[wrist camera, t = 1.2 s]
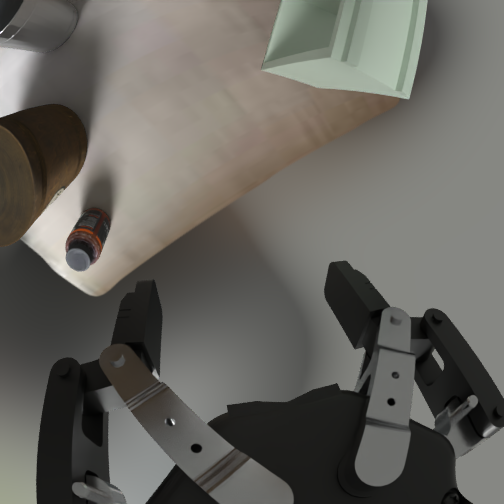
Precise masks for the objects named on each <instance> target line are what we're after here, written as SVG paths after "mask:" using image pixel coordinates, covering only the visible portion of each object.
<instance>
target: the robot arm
mask: <svg viewBox="0 0 504 504" xmlns="http://www.w3.org/2000/svg"><path fill="white" fill-rule="evenodd" d="M77 19H78V13H77V9H76V8H75V7H74V6H73V5H72V4H71V3H69V2H68V1H66V0H0V47H4V48H13V49H20V50H27V51H33V52H39V53H46V52H50V51H52V50H54V49H56V48H58V47H59V46H60V45H62V44H63V43H64V42H65V41H66V40H67V39H68V38H69V36H70V35H71V34H72V32H73V30H74V29H75V26H76V24H77ZM324 293H325V298H326V301H327V302H328V304H329V306H330V307H331V309H332V311H333V313H334V314H335V316H336V318H337V319H338V321H339V323H340V325H341V326H342V328H343V330H344V331H345V333H346V335H347V336H348V338H349V340H350V342H351V343H352V345H353V347H354V349H358V348H362V347H364V348H365V352H364V355H363V360H362V363H361V368H360V372H359V376H358V379H357V383H356V386H355V389H354V391H348V390H340V388H339V386H338V384H337V383H336V384H333V385H329V386H325V387H322V388H318V389H314V390H311V391H309V392H307V393H306V394H303V395H301V396H299V397H297V398H295V399H293V400H291V401H288V402H261V401H254V402H247V403H240V404H232V405H227V409H228V412H227V413H225V414H222V415H220V416H218V417H216V418H214V419H213V420H211V421H210V422H208V423H207V424H206V423H205V422H204V421H203V420H202V419H201V418H200V417H198V416H197V415H196V414H195V413H194V412H193V411H192V410H191V409H190V408H189V407H188V406H187V405H186V404H185V403H184V402H183V401H182V400H181V399H180V398H179V397H178V396H177V395H176V394H175V393H174V392H173V391H172V390H171V389H170V388H169V387H168V386H167V385H166V384H165V383H163V382H162V383H160V382H159V381H158V380H157V379H159V378H160V352H161V335H162V334H161V333H162V318H163V316H162V308H161V303H160V299H159V295H158V291H157V287H156V283H155V280H154V279H152V280H139V281H137V284H136V288H135V292H134V293H127V294H126V296H125V297H124V298H123V299H122V301H121V304H120V308H119V312H118V315H117V319H116V324H115V328H114V332H113V337H112V341H111V346H109V347H107V348H106V349H105V350H103V352H102V353H101V355H100V358H99V359H98V360H95V361H92V362H89V363H85V364H81V365H80V364H79V363H78V362H77V361H76V360H75V359H73V358H63V359H60V360H58V361H57V362H56V363H55V364H54V365H53V367H52V369H51V371H50V376H49V380H48V385H47V389H46V394H45V399H44V405H43V411H42V418H41V424H40V432H39V441H38V454H37V476H36V486H37V487H36V489H37V490H36V492H37V504H127V503H126V500H125V497H124V495H123V493H122V492H121V491H120V489H118V488H117V487H116V486H114V485H112V484H110V477H109V459H108V414H109V411H112V410H116V409H119V408H123V407H126V406H127V407H128V408H129V409H130V411H131V412H132V413H133V415H134V416H135V417H136V419H137V420H138V421H139V422H140V424H141V425H142V426H143V427H144V429H145V430H146V431H147V432H148V433H149V434H150V436H151V437H152V438H153V439H154V440H155V441H156V442H157V444H158V445H159V446H160V447H161V448H162V449H163V450H164V452H165V453H166V454H167V455H168V456H169V457H170V458H171V459H172V460H173V461H174V462H175V463H176V465H175V466H174V467H173V469H172V470H171V471H170V473H169V474H168V476H167V477H166V478H165V479H164V481H163V482H162V483H161V485H160V486H159V487H158V489H157V490H156V491H155V492H154V493H153V495H152V496H151V497H150V499H149V500H148V501H147V502H146V504H473V503H471V502H470V501H468V500H467V499H466V498H465V497H464V496H463V495H462V494H461V493H460V492H459V490H458V488H457V483H456V475H455V461H456V459H457V458H458V457H460V456H463V455H465V454H466V453H468V452H469V451H471V450H473V449H474V448H475V447H477V446H478V445H480V444H481V443H483V442H484V441H485V440H487V439H488V438H490V437H491V436H492V435H494V434H495V433H496V432H497V431H499V430H500V429H501V428H502V427H504V398H503V397H502V395H501V394H500V392H499V390H498V388H497V386H496V385H495V383H494V382H493V380H492V378H491V377H490V376H489V374H488V372H487V371H486V369H485V368H484V366H483V365H482V363H481V362H480V360H479V359H478V357H477V356H476V354H475V353H474V351H473V350H472V349H471V347H470V346H469V344H468V343H467V342H466V341H465V339H464V338H463V336H462V335H461V334H460V332H459V331H458V330H457V328H456V327H455V326H454V324H453V323H452V322H451V320H450V319H449V318H448V317H447V315H446V314H445V313H443V312H442V311H440V310H438V309H434V308H433V309H428V310H427V311H426V312H425V314H424V316H423V317H409V315H408V314H407V313H406V312H405V311H404V310H402V309H400V308H396V307H390V306H389V304H388V303H387V302H386V301H385V299H384V298H383V297H382V296H381V294H380V293H379V292H378V291H377V289H375V287H374V286H373V285H372V283H370V281H369V280H368V278H367V277H366V276H365V275H364V274H362V273H361V272H359V271H358V270H354V269H353V268H352V267H351V265H350V264H349V263H348V262H347V261H338V262H331V263H330V265H329V268H328V274H327V278H326V283H325V288H324ZM434 349H436V351H437V352H438V354H439V355H440V357H441V358H442V360H443V361H444V370H443V371H442V370H441V368H440V367H439V365H438V363H437V362H436V360H435V359H434V357H433V355H432V352H433V351H434ZM414 380H415V382H416V383H417V385H418V387H419V389H420V391H421V392H422V394H423V396H424V398H425V400H426V402H427V404H428V406H429V408H430V410H431V412H432V414H433V416H434V418H435V428H434V429H433V430H432V429H430V428H428V427H426V426H424V425H422V424H420V423H418V422H415V421H414V420H412V419H410V411H411V404H412V395H413V385H414Z"/></svg>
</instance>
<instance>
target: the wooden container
mask: <svg viewBox="0 0 504 504" xmlns="http://www.w3.org/2000/svg"><path fill="white" fill-rule="evenodd" d="M86 152H87V137H86V132H85V129H84V126H83V124H82V122H81V120H80V119H79V117H78V116H77V115H76V114H75V113H74V112H73V111H72V110H71V109H69V108H67V107H65V106H62V105H58V104H49V105H43V106H38V107H34V108H29V109H25V110H22V111H19V112H16V113H13V114H10V115H7V116H4V117H1V118H0V247H4V246H8V245H11V244H13V243H15V242H16V241H18V240H19V239H20V238H21V237H22V236H23V235H24V234H25V233H26V231H27V230H28V229H29V228H30V227H31V225H32V224H33V223H34V221H35V220H36V219H37V218H38V217H39V216H40V215H41V214H42V213H43V212H44V211H45V210H46V208H47V207H48V206H49V205H50V204H51V203H52V202H53V201H54V200H55V199H56V198H57V197H58V196H59V195H60V194H61V193H62V192H63V191H64V190H65V189H66V188H67V186H68V185H69V184H70V183H71V182H72V181H73V180H74V179H75V178H76V176H77V175H78V174H79V172H80V170H81V169H82V167H83V164H84V161H85V157H86Z"/></svg>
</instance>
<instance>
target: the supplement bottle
mask: <svg viewBox="0 0 504 504" xmlns="http://www.w3.org/2000/svg"><path fill="white" fill-rule="evenodd" d="M109 230H110V220H109V218H108V216H107V215H106V214H105V213H104V212H103V211H102V210H100V209H96V208H91V209H88V210H86V211H85V212H84V213H83V214H82V215H81V217H80V218H79V220H78V221H77V223H76V225H75V226H74V228H73V230H72V231H71V233H70V235H69V237H68V238H67V241H66V252H67V253H66V261H67V264H68V265H69V266H70V267H71V268H72V269H73V270H76V271H85V270H87V269H88V268H89V266H90V265H92V264H94V263H95V262H96V261H97V260H98V259H99V257H100V254H101V252H102V249H103V246H104V244H105V241H106V238H107V236H108V233H109Z"/></svg>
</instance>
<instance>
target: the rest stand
mask: <svg viewBox="0 0 504 504" xmlns="http://www.w3.org/2000/svg"><path fill="white" fill-rule="evenodd" d="M426 9H427V0H281V2H280V5H279V9H278V12H277V15H276V19H275V22H274V25H273V29H272V32H271V36H270V39H269V43H268V47H267V50H266V54H265V57H264V61H263V65H262V69H261V70H262V71H266V72H269V73H273V74H277V75H280V76H283V77H287V78H290V79H293V80H296V81H299V82H302V83H305V84H308V85H311V86H314V87H317V88H328V89H341V90H352V91H361V92H369V93H376V94H382V95H389V96H394V97H400V98H405V99H409V97H410V93H411V89H412V85H413V81H414V77H415V73H416V68H417V63H418V58H419V53H420V48H421V42H422V36H423V31H424V24H425V16H426Z"/></svg>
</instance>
